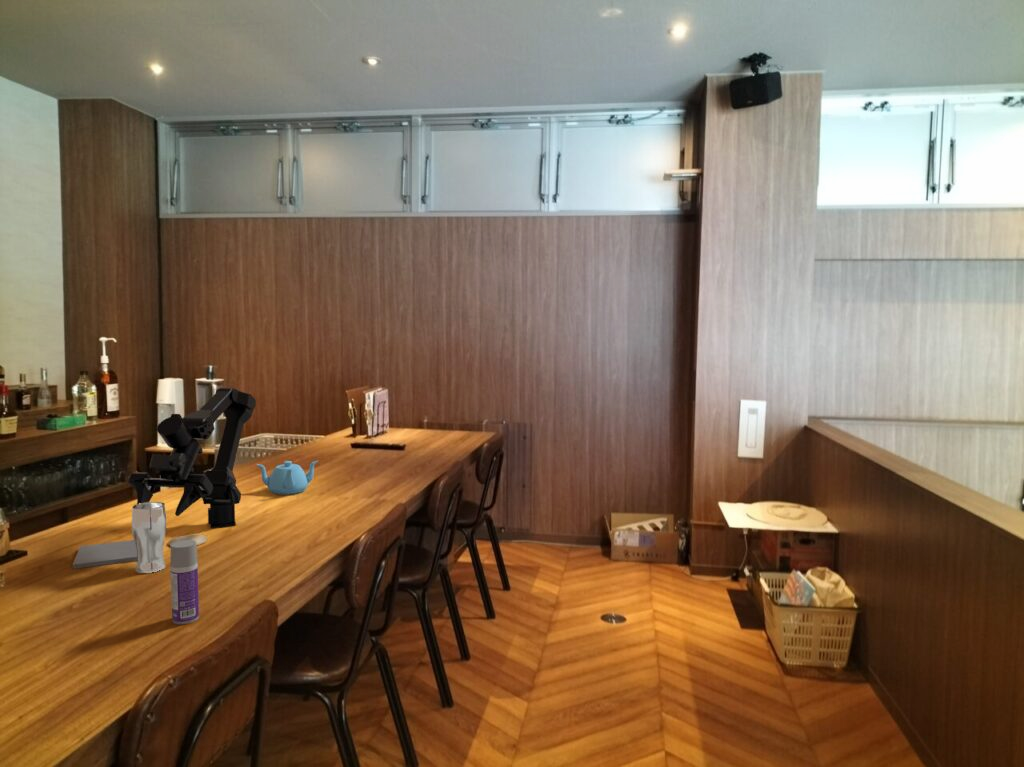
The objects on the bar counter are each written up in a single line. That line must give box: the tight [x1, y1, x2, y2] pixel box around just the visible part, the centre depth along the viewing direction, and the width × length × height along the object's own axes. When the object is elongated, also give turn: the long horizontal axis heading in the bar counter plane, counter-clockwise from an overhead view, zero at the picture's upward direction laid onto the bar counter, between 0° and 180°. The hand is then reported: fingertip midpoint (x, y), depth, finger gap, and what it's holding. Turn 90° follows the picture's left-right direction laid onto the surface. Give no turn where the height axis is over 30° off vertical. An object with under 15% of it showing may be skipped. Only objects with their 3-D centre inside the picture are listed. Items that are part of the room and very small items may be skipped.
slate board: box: [72, 539, 137, 570], centre depth 163 cm, size 14×14×1 cm
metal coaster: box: [168, 534, 208, 547], centre depth 173 cm, size 9×9×1 cm
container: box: [170, 540, 200, 625], centre depth 128 cm, size 5×5×15 cm
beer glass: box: [131, 501, 167, 574], centre depth 154 cm, size 7×7×15 cm
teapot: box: [256, 460, 319, 496], centre depth 226 cm, size 15×15×10 cm
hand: (157, 514), depth 157 cm, fingers open, 9 cm apart
